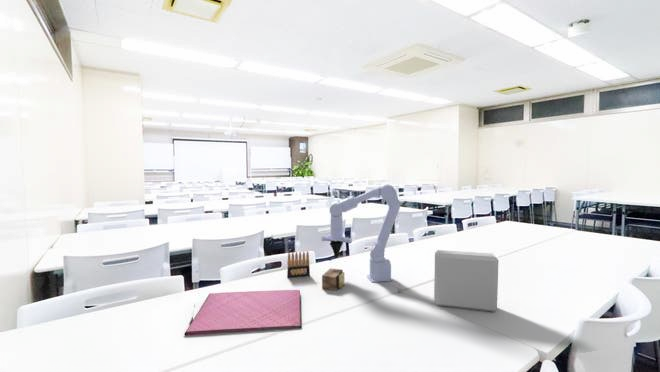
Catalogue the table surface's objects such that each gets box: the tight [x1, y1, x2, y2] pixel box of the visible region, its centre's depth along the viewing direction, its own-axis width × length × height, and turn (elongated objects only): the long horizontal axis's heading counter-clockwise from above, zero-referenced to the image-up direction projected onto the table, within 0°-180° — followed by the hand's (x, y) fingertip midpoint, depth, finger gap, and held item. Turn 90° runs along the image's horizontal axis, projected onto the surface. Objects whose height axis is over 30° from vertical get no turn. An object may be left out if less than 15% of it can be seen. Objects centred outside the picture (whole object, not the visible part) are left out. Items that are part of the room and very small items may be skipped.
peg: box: [338, 272, 345, 289], centre depth 133 cm, size 8×5×5 cm, turn 70°
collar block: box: [321, 268, 343, 291], centre depth 133 cm, size 6×10×6 cm, turn 160°
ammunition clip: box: [286, 250, 311, 279], centre depth 144 cm, size 11×2×12 cm, turn 103°
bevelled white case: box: [433, 249, 499, 312], centre depth 113 cm, size 21×8×20 cm, turn 74°
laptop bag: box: [184, 289, 303, 336], centre depth 109 cm, size 40×4×27 cm
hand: (336, 256), depth 144 cm, fingers closed
